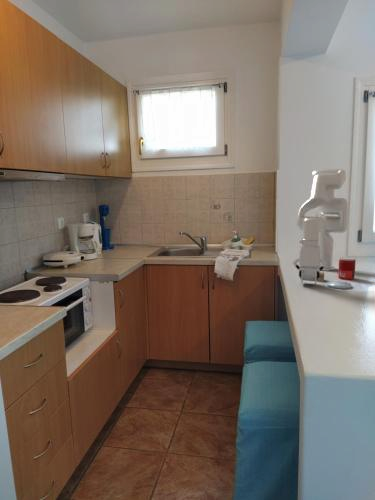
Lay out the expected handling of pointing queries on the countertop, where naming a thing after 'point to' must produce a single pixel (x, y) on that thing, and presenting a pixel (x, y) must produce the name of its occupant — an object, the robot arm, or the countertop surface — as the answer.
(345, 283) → the dish
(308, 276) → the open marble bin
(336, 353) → the countertop surface
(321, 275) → the block
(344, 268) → the canned food
